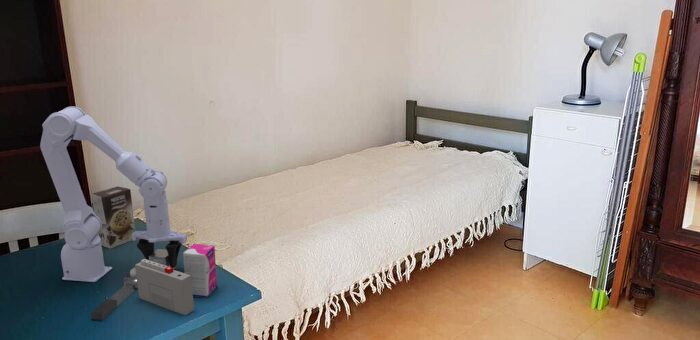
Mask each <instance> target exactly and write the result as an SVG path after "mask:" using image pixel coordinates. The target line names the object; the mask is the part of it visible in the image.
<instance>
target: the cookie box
mask: <svg viewBox="0 0 700 340" xmlns="http://www.w3.org/2000/svg"><path fill="white" fill-rule="evenodd" d="M91 201H92V209H93V211H94V213H95V215H96V216H97V217H98V218H99V219H100V220H101V222H102V228H101V230H100V232H99V237H100V239H101V246H103V247H105V248H107V249H113V248H115V247H116V248H117V247H118V246H121V245H123V244H126V243H130V242H132V241H133V240H132V233H134V232H135V231H136V227H135V226H136V225H135V217H134V209H133V202H132V192H131V189H130V188H127V187H122V186H115V187H111V188H107V189H105V190H104V189H103V190H100V191H96V192H93V193H91Z"/></svg>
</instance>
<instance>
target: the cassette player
mask: <svg viewBox="0 0 700 340" xmlns="http://www.w3.org/2000/svg"><path fill="white" fill-rule="evenodd" d="M134 268H136V276H137V284H138V290H137V292H138V298H139V299H140V300H144V301H146V302H148V303H151V304H154V305H157V306H159V307H162V308H164V309H167V310H169V311H173V312H176V313H177V314H181V315H182V316H188V314H190V313H192V312H193V311H195V305H194V296H193V293H192V282H191V275H188V274H185V272H182V271H178V270H175V269H173V268H171V267H168V266H165V265H162V264H159V263H156V262H153V261H149V260H146V259H145V258H143V259H141V260H140V262H138V263H136V264H134Z"/></svg>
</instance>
